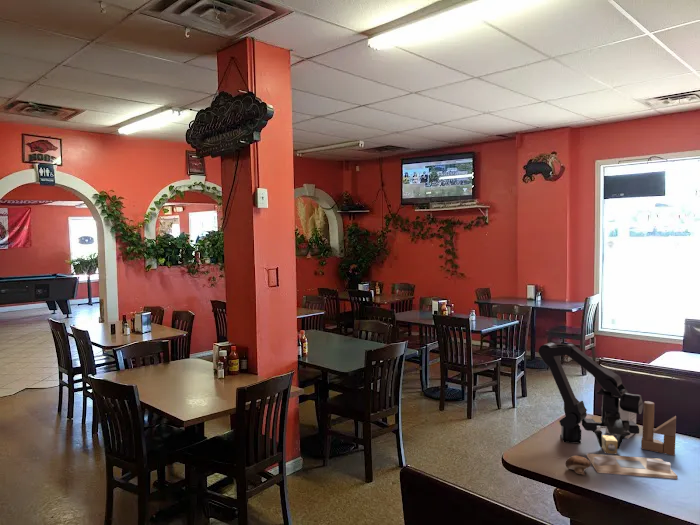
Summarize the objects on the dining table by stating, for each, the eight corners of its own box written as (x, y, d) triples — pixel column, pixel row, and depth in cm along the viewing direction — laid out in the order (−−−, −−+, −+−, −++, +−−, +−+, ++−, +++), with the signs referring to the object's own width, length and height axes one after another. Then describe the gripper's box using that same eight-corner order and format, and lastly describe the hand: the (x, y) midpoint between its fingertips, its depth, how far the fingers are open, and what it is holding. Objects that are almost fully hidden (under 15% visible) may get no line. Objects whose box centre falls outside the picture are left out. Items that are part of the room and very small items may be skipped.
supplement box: (604, 432, 211) (605, 396, 210) (613, 426, 217) (614, 392, 216) (628, 439, 204) (629, 402, 203) (636, 433, 211) (637, 397, 210)
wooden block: (674, 456, 189) (676, 408, 188) (641, 449, 195) (642, 402, 194) (674, 452, 192) (676, 405, 191) (642, 445, 198) (643, 400, 197)
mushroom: (589, 471, 170) (584, 452, 174) (564, 475, 174) (560, 456, 178) (596, 475, 175) (591, 456, 179) (572, 478, 179) (568, 460, 183)
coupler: (617, 455, 190) (618, 441, 190) (606, 454, 191) (606, 441, 191) (612, 447, 197) (612, 434, 196) (600, 446, 198) (601, 434, 197)
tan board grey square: (597, 472, 176) (597, 463, 176) (587, 456, 189) (587, 447, 189) (677, 478, 172) (677, 469, 172) (661, 461, 185) (661, 452, 185)
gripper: (590, 413, 187) (588, 455, 188) (645, 416, 183) (644, 459, 184) (581, 403, 197) (580, 442, 199) (634, 406, 194) (632, 446, 195)
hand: (609, 448), depth 194 cm, fingers open, 6 cm apart
